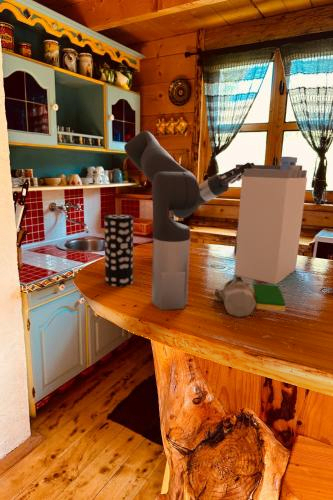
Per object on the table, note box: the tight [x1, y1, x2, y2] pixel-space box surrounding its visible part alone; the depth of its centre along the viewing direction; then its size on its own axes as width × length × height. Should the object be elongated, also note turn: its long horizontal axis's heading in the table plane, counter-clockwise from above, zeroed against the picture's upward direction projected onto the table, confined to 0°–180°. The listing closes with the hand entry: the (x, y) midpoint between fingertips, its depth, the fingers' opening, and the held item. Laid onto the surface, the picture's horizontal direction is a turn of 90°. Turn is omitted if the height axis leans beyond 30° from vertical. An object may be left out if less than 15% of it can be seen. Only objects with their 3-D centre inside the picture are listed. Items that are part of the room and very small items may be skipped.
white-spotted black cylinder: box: [103, 214, 134, 287], centre depth 100 cm, size 8×8×20 cm
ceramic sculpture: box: [214, 276, 256, 318], centre depth 85 cm, size 11×9×15 cm
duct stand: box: [233, 156, 308, 285], centre depth 112 cm, size 14×20×38 cm
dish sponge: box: [252, 283, 286, 312], centre depth 92 cm, size 7×14×2 cm, turn 169°
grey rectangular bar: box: [235, 164, 303, 174], centre depth 115 cm, size 22×3×3 cm, turn 53°
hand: (252, 165), depth 118 cm, fingers closed on grey rectangular bar, 2 cm apart
